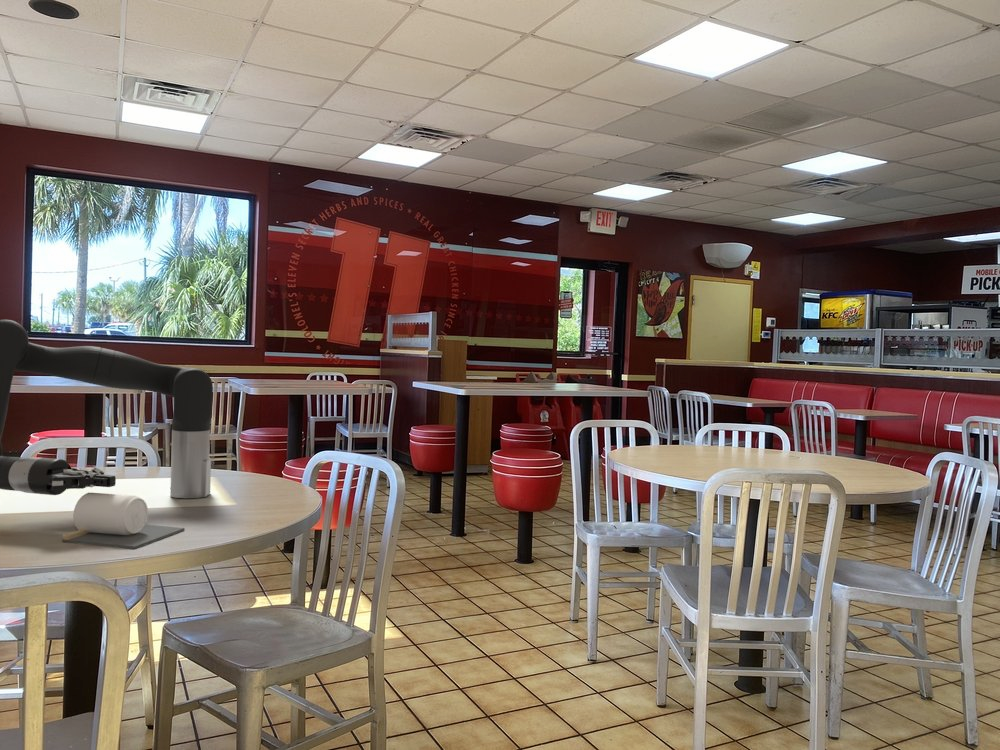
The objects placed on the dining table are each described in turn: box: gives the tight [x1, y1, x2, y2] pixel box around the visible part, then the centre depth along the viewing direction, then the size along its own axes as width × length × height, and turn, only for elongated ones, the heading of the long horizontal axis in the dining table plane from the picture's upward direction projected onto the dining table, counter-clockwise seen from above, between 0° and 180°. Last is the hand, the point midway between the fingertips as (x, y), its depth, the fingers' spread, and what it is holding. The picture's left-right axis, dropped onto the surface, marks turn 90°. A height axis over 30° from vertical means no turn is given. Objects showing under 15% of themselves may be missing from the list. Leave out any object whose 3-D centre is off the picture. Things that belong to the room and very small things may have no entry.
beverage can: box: [72, 492, 149, 535], centre depth 157 cm, size 8×8×12 cm
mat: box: [62, 523, 186, 550], centre depth 157 cm, size 16×16×1 cm
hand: (113, 481), depth 157 cm, fingers closed
